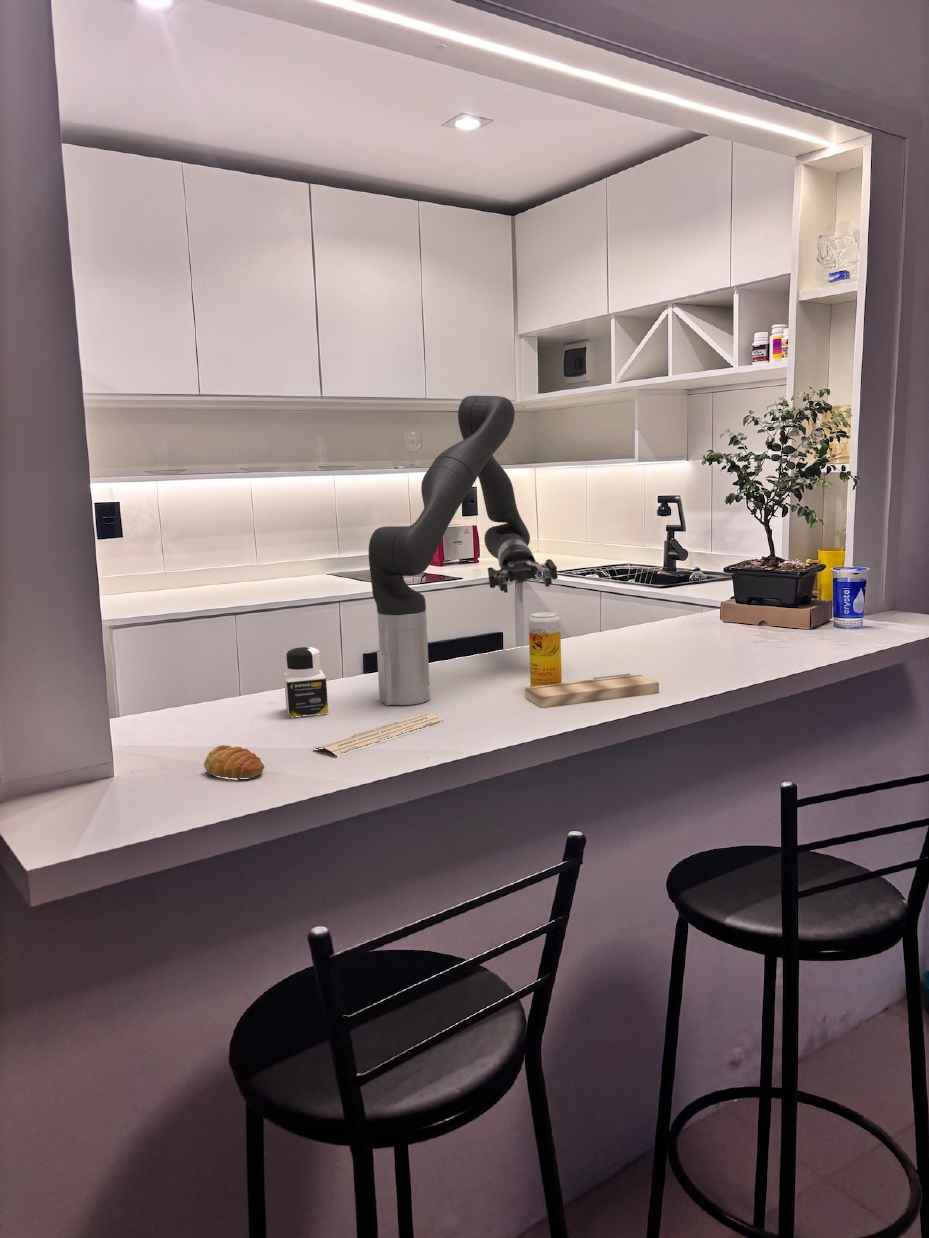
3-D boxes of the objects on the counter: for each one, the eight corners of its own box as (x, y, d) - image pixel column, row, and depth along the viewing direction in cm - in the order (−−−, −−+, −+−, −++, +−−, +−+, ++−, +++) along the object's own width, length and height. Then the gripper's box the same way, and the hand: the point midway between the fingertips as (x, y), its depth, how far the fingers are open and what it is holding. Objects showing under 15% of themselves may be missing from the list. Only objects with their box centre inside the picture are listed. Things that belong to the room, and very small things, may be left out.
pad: (609, 686, 174) (609, 685, 174) (593, 679, 180) (593, 677, 180) (645, 682, 176) (645, 680, 176) (628, 675, 183) (628, 673, 183)
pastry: (276, 773, 131) (274, 748, 131) (240, 787, 126) (238, 761, 125) (235, 762, 137) (233, 739, 136) (199, 776, 132) (196, 751, 131)
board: (541, 707, 160) (541, 696, 160) (525, 697, 168) (525, 687, 168) (658, 692, 168) (658, 681, 167) (638, 683, 175) (638, 673, 175)
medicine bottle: (289, 718, 160) (284, 654, 158) (286, 709, 167) (281, 647, 165) (328, 714, 162) (324, 650, 160) (324, 705, 169) (320, 643, 167)
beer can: (525, 692, 172) (523, 616, 170) (538, 685, 178) (535, 611, 175) (554, 694, 169) (552, 617, 167) (566, 687, 175) (564, 612, 172)
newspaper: (336, 762, 137) (335, 751, 137) (308, 753, 142) (307, 743, 141) (443, 726, 154) (442, 716, 153) (415, 720, 159) (414, 710, 158)
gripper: (482, 548, 192) (489, 572, 177) (546, 539, 192) (560, 562, 177) (485, 580, 195) (493, 607, 180) (549, 571, 195) (563, 597, 180)
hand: (526, 585), depth 179 cm, fingers open, 8 cm apart
